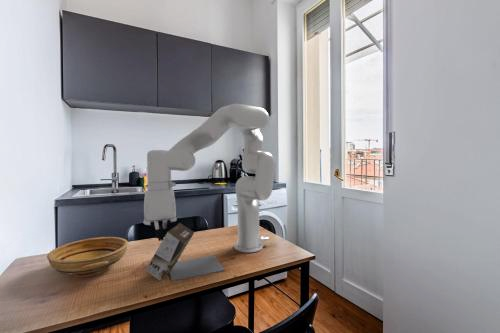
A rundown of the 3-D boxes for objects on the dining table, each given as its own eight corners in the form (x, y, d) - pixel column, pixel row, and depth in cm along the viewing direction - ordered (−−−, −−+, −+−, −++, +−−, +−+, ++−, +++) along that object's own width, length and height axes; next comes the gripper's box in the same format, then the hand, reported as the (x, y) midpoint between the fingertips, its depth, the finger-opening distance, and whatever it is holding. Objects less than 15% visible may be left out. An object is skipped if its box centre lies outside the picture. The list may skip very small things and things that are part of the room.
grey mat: (213, 256, 100) (213, 255, 100) (224, 270, 88) (224, 269, 88) (167, 264, 93) (167, 263, 93) (171, 281, 80) (171, 280, 80)
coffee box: (160, 281, 80) (183, 243, 77) (144, 270, 81) (166, 231, 78) (174, 267, 89) (195, 232, 86) (159, 257, 90) (180, 221, 86)
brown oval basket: (48, 264, 93) (47, 243, 93) (119, 249, 108) (119, 231, 108) (46, 300, 70) (45, 272, 69) (138, 274, 85) (137, 251, 84)
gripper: (180, 184, 91) (181, 233, 92) (135, 186, 85) (137, 239, 85) (184, 186, 84) (184, 239, 85) (135, 189, 78) (136, 246, 79)
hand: (160, 239), depth 85 cm, fingers closed
